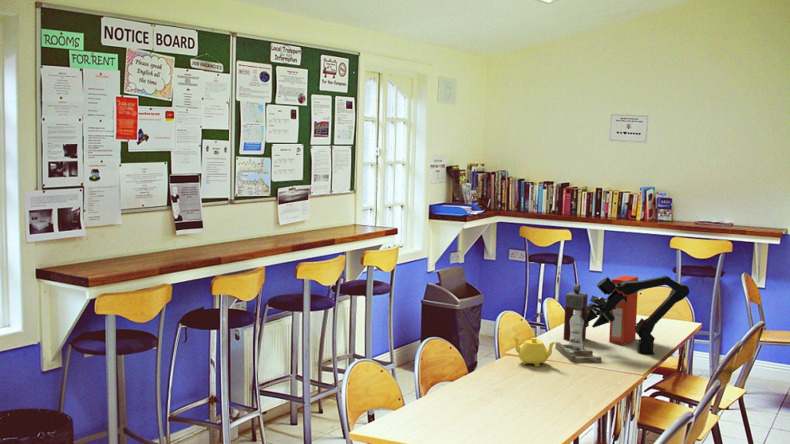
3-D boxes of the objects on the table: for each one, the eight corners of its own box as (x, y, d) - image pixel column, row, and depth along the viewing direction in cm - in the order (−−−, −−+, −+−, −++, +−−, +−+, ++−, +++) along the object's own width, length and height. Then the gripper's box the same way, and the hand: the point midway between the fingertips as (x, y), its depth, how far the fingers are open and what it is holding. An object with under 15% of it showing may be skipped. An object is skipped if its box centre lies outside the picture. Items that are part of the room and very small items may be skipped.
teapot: (560, 362, 349) (561, 337, 348) (550, 370, 336) (551, 344, 335) (517, 356, 358) (518, 331, 357) (506, 363, 345) (507, 338, 344)
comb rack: (583, 348, 375) (583, 340, 375) (601, 362, 351) (601, 354, 351) (555, 348, 374) (555, 340, 374) (571, 362, 350) (571, 353, 350)
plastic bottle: (583, 354, 365) (585, 312, 363) (568, 353, 366) (570, 311, 364) (582, 350, 371) (584, 309, 369) (568, 349, 372) (570, 308, 370)
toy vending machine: (585, 342, 387) (588, 287, 385) (563, 339, 393) (565, 284, 390) (590, 339, 395) (592, 284, 393) (568, 336, 401) (571, 282, 398)
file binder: (608, 342, 389) (612, 279, 387) (619, 336, 404) (623, 275, 401) (624, 345, 385) (628, 281, 382) (635, 338, 399) (638, 277, 396)
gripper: (592, 286, 377) (570, 308, 376) (610, 293, 359) (586, 317, 358) (607, 302, 379) (584, 324, 378) (624, 310, 361) (601, 333, 360)
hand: (588, 324), depth 368 cm, fingers open, 9 cm apart
